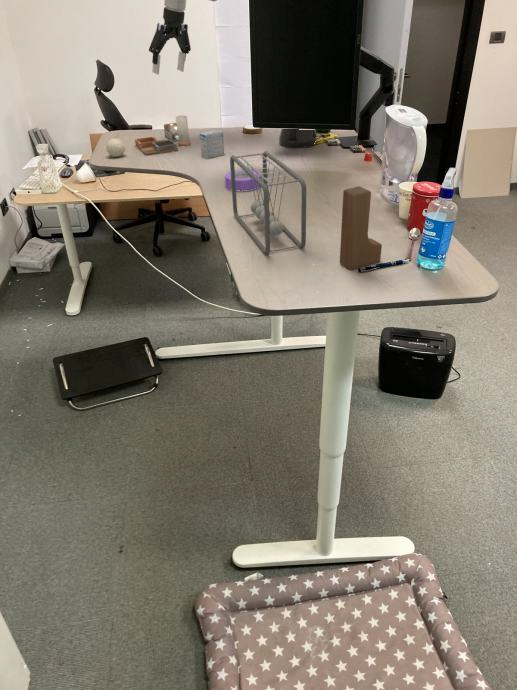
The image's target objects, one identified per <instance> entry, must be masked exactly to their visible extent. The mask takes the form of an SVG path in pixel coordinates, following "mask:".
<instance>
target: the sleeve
mask: <svg viewBox="0 0 517 690" xmlns="http://www.w3.org/2000/svg"><path fill="white" fill-rule="evenodd" d="M175 121H176V122H175V123H177V132H178V140H179V141H178V143H177V144H178V147H181V146H186V147H189V145H190V146H191V140H190V133H189V125H188V124H189V122H188V116H187V115H177V116H175Z"/></svg>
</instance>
